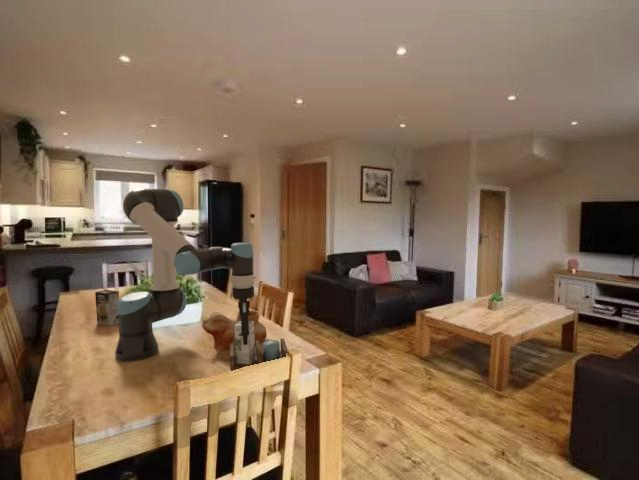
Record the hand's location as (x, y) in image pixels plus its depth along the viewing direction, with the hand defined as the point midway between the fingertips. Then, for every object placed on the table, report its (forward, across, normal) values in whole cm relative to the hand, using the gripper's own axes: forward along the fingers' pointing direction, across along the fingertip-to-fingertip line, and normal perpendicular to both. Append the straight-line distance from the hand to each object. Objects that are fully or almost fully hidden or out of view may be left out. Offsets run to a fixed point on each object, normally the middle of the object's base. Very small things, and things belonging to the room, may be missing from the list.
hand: (245, 347), depth 131 cm
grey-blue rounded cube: (+5, 0, -9) cm, 11 cm away
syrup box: (+5, 0, 0) cm, 5 cm away
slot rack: (+6, 0, -5) cm, 8 cm away
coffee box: (+7, +66, +65) cm, 93 cm away
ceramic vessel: (+7, +20, +4) cm, 21 cm away
